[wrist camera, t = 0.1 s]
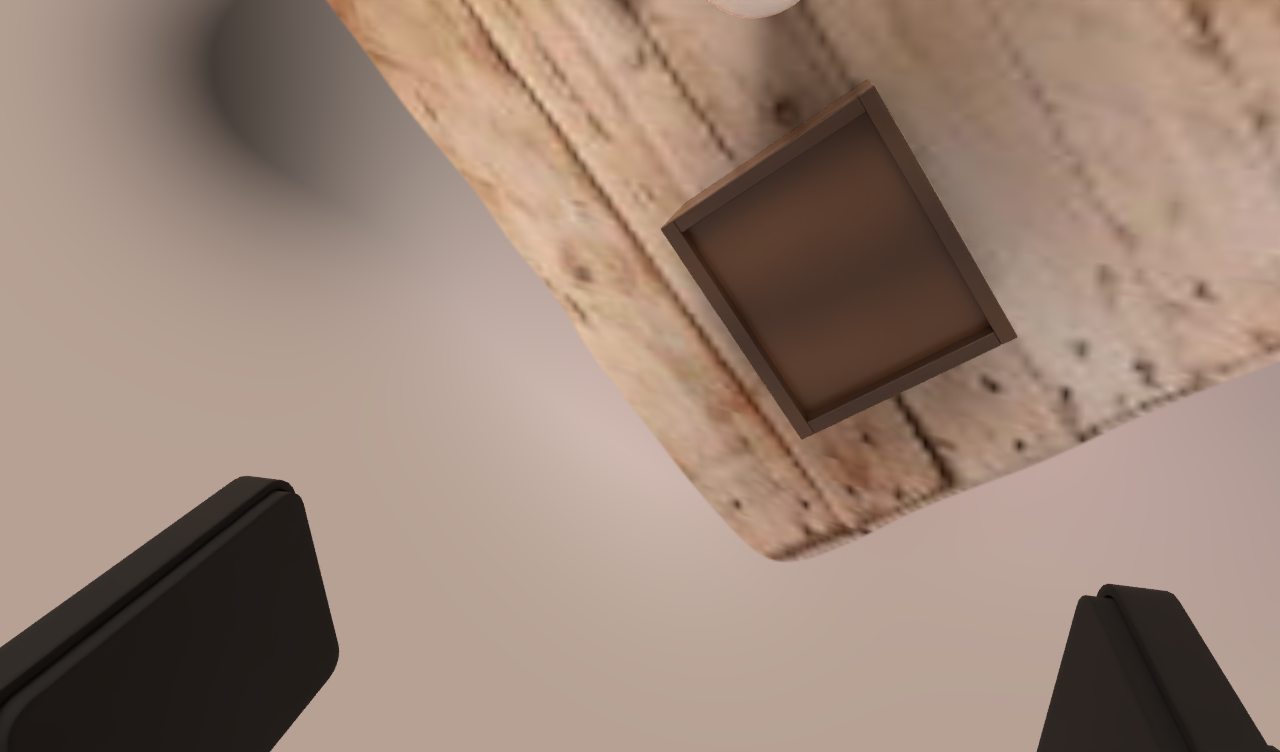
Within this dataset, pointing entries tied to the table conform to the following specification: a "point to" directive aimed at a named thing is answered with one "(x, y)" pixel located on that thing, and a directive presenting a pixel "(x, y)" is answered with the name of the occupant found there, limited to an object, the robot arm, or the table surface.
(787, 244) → the tray
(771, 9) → the lightbulb
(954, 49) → the table surface
